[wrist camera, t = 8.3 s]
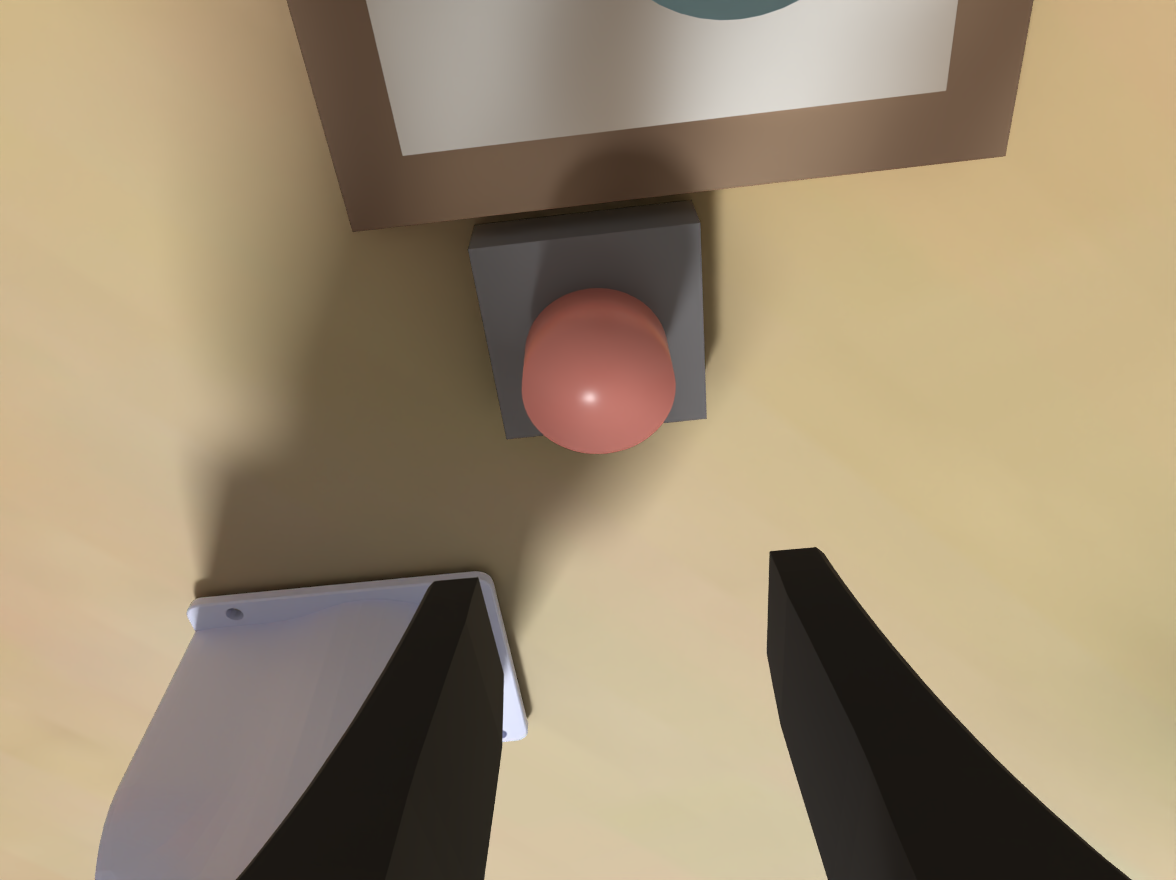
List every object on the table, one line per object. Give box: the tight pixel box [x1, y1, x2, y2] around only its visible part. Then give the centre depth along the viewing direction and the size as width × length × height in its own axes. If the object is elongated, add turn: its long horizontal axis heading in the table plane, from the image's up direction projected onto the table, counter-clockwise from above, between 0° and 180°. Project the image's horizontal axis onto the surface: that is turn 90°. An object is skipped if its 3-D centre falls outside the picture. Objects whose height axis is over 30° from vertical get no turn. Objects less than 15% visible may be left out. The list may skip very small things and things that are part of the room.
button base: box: [468, 200, 707, 439], centre depth 19 cm, size 5×5×2 cm
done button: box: [522, 288, 676, 454], centre depth 17 cm, size 3×3×2 cm
